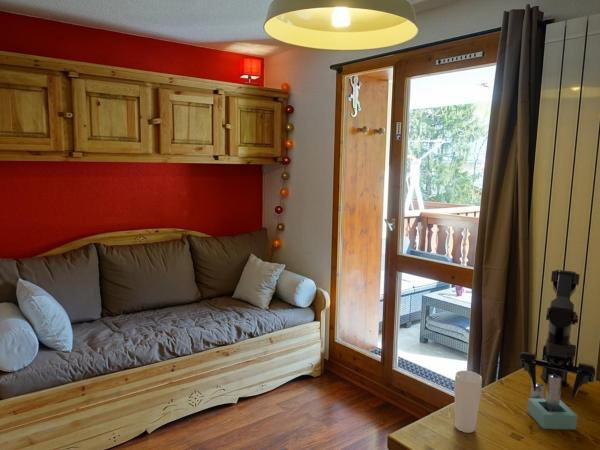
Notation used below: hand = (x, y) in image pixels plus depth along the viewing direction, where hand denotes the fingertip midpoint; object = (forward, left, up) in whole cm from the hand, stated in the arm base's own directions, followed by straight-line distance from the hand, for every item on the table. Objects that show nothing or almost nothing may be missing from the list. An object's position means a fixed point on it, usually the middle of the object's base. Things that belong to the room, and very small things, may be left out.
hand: (553, 395), depth 130 cm
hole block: (-1, -1, -8) cm, 8 cm away
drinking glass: (+25, +4, -8) cm, 27 cm away
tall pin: (-1, -1, -8) cm, 8 cm away
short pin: (-3, -13, -8) cm, 16 cm away
